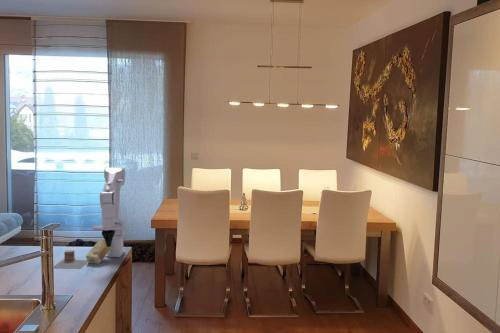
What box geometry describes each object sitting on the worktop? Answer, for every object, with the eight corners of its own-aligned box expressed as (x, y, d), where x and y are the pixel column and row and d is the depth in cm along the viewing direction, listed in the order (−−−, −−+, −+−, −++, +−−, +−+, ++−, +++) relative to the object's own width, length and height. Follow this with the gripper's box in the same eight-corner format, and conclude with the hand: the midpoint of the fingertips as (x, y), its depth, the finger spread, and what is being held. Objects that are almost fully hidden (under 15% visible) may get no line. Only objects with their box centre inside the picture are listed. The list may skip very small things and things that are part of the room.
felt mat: (62, 260, 229) (62, 259, 229) (89, 260, 229) (89, 260, 228) (51, 268, 217) (51, 267, 217) (80, 269, 217) (80, 268, 217)
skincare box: (85, 256, 223) (98, 239, 233) (87, 262, 225) (101, 245, 235) (97, 257, 221) (110, 240, 231) (99, 264, 223) (112, 247, 233)
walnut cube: (65, 258, 231) (65, 250, 231) (74, 258, 232) (74, 250, 232) (64, 260, 227) (64, 252, 227) (73, 260, 228) (73, 251, 228)
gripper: (89, 219, 216) (90, 248, 217) (121, 219, 216) (122, 248, 217) (94, 215, 223) (95, 244, 224) (125, 216, 223) (126, 244, 224)
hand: (108, 246), depth 221 cm, fingers closed
